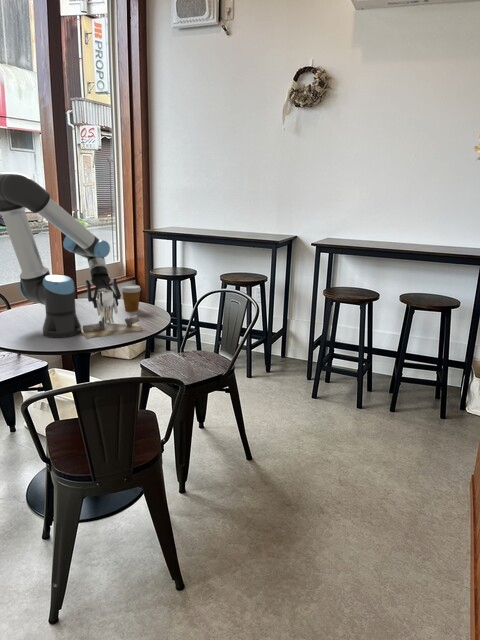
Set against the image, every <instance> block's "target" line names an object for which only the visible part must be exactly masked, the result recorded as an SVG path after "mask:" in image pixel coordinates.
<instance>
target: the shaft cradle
mask: <svg viewBox="0 0 480 640" xmlns="http://www.w3.org/2000/svg"><path fill="white" fill-rule="evenodd" d="M124 322H125V323H114V324H108V325H105V326H104V322H103V321H100V320H99V321H98V322H97V323H91V324H83V325H82V328H81V333H80V334H81V335H82V336H83V337H85V339H88V338H96V337H105V336H111V335H117V334H125V333H132V332H139V331H141V332H142V331H143V329H144V328H143V327H142V326H140V325H139V324H137V323H138V322H140V317H139V316H138V315H137V314H134V315H133V316H131V317H127V318H126V317H125V319H124Z"/></svg>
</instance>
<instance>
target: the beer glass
mask: <svg viewBox="0 0 480 640" xmlns="http://www.w3.org/2000/svg"><path fill="white" fill-rule="evenodd" d="M113 291H114V289H112V290H106V289H100V290H99V289H98V292H97V297H96V300H98V302H99V307H100V311H101V313H100V315H99V316H100V317H99V318H100V319H99V321H103V322H104V326H105V325H108V324H115V321H114V316H113V314H114V295H113Z"/></svg>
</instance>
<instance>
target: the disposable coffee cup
mask: <svg viewBox="0 0 480 640" xmlns="http://www.w3.org/2000/svg"><path fill="white" fill-rule="evenodd" d="M120 289H121V292H122V293H121V294H122V299H123V306H124V310H125V312H128V313H135V312H138V311H139V306H140V305H139V304H140V295H141V290H142V288H141V286H140V285H137V284H127V285H122V286H121V288H120Z"/></svg>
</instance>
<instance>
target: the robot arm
mask: <svg viewBox="0 0 480 640" xmlns="http://www.w3.org/2000/svg"><path fill="white" fill-rule="evenodd" d="M26 209H27V210H29V211H30V212H31V213H33V214H38V215H40V216H41V217H42V218H43V219H45V220H46V221H47V222H49V223H50V224H51V225H52V226H53V227H54V228H56V229H57V230H59V231H60V233H62V234H64V235H65V238H63V239H64V240H63V242H62V243H63V245H62V246H63V248H64V249H65V250H67V251H68V252H69V253H72V254H75V255H78V256H80V257H82V258H85V259H86V260H87V263H88V268H89V272H90V278H91V279H90V280H88V279H86V280H85V287H86V291H87V301H88V302H89V303H90V302H92V304H93V308H94V309H96V311H97V316H100V313H101V311H100V307H99V302H98V299H97V297H98V291H99V289H104V290H113V295H114V308H113V311H114V314H115V315H116V314H118V312H119V310H118V306H119V300H121V297H122V295H121V294H122V293H121V292H120V290H119V286H118V283H117V282H118V281H117V278H110V276H109V272H108V269H107V268H108V267H107V264H106V259H105V258H106V257H107V256H109V254H110V252H111V246H110V244H109V242H108V241H107V240H104V239H100V238H98V236H96V235H94V234H93V233H92V232H91V231H90V230H89V229H87V228H86V227H85V226H84V225H82V223H80V222H79V221H78V220H77V219H75V217H73V216H72V215H71V214H70V213H69V212H67V210H65V208H63V207H62V206H61V205H59V204H58V203H57V202H56V201H55V200H54V199H52V198H51V194H50V193H49V192H48V191H47V190H46V189H45V188H44V187H42V186H41V185H40V184H39V183H37V182H36V181H35V180H33V179H32V178H31V177H29V176H28V175H25V174H24V173H20V172H19V173H18V172H3V171H1V172H0V215H1V217H2V219H3V222H4V225H5V227H6V228H5V229H6V230H7V233H8V236H9V238H10V241H11V245H12V247H13V250H14V253H15V256H16V259H17V261H18V264H19V267H20V270H21V272H20V274H19V279H20V280H19V281H20V282H19V283H18V289H19V293H20V294H21V296H22V297H23V298H24V299H26V300H28V301H30V302H32V303H34V304H35V303H36V304H40V305H44V306H45V307H44V308H45V309H44V310H45V319H44V321H43V326H42V335H43V336H45V337H48V338H61V339H62V338H67V337H68V338H69V337H73V336H77V335H79V334H81V329H82V325H81V323H80V320H79V317H78V315H77V310H76V309H77V308H76V307H77V306H76V295H75V294H76V293H75V290H76V289H75V288H76V287H75V283H74V280H73V279H72V278H71V276H68V275H63V274H61V275H60V274H50V270H49V268H48V267H46V266H44V263H43V262H42V258H41V255H40V253H39V252H40V251H39V249H38V246H37V242H36V240H35V236H34V234H33V231H32V228H31V226H30V222H29V218H28V216H27V213H26ZM110 283H111V285H112V287H111V285H110ZM92 285H93V286H94V287H95V288H94V292H93V297H92V287H91V286H92ZM112 288H113V289H112Z"/></svg>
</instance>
